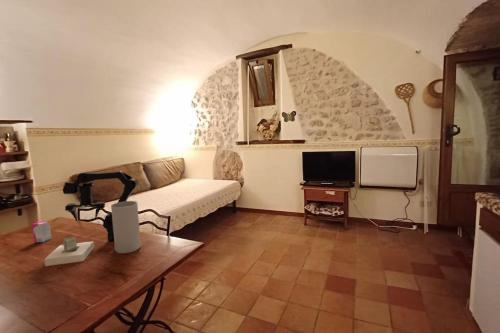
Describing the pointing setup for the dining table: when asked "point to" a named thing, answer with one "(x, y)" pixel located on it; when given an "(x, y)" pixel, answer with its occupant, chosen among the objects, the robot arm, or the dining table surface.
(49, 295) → the dining table surface
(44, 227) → the supplement box
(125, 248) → the cylinder vase
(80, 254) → the socket block
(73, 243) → the peg
